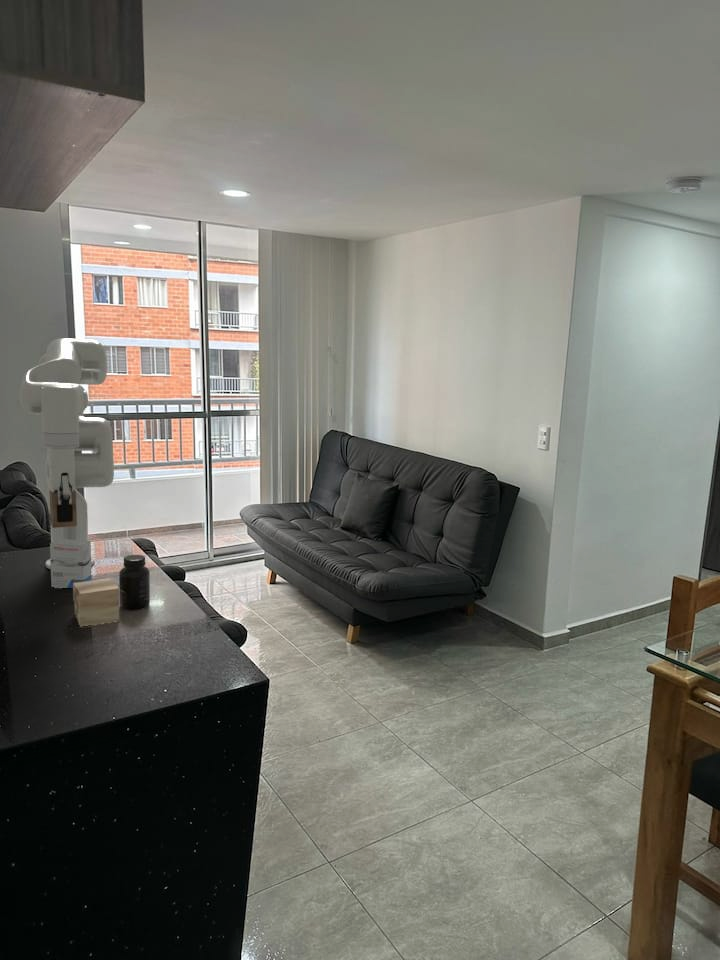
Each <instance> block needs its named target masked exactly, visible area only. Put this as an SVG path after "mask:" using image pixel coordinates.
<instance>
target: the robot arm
mask: <svg viewBox="0 0 720 960" xmlns="http://www.w3.org/2000/svg"><path fill="white" fill-rule="evenodd" d="M107 362H108V359H107V352H106V350H105V348H104V346H103V344H102V343H101V342H99V341H98V340H95V339H83V338H80V339H79V338H67V337H65V338H63V337H62V338H57V339H56V338H55V339H53V340H52V341H51V342H50V343H49V344H48V345H47V348H46V353H45V354H44V355H42V356H41V357H40V359H39V361H38V365H36V366H34V367H32V368H29V370H27V371H26V372H25V373H24V374H23V377H22V380H21V386H20V390H19V391H20V392H19V401H20V406H21V408H22V410H23V411H24V412H25V413H27V414H29V415H38V416H41V431H42V433H41V434H42V437H41V438H42V447H43V448H44V449H47V453H46V455H47V456H46V461H45V464H44V473H45V479H46V483H47V484H46V485H47V490H48V497H49V500H48V501H50V492H49V489H50V491H51V492H54V491H55V490H57V496H58V505H57V521H58V522H71V521H73V509H72V499H71V491H73V490H75V491H76V511H77V526H70V527H57V528H53V527H52V525H51V522H50V543H52V542H54V541H57V540H59V539H68V540H81V541H89V527H88V526H89V525H88V523H89V522H88V502H87V500H86V498H85V497H84V496H83V495H82V494H81V493H80V492H79V491H78V490H77V489H83V488H105V487H109V486H110V485H112V483H113V481H114V478H115V477H114V476H115V462H114V443H113V442H114V441H113V430H112V426H111V424H110V422H109V420H107V419H106V418H103V417H98V416H97V417H96V416H95V417H94V416H93V417H89V416H88V417H85V416H84V411H85V410H86V409H87V408H88V405H89V395H88V392H87V391H86V389H85V388H84V387H83V386H82V385H88V386H89V385H93V386H95V385H98V386H99V385H101V384H104V382H105V381H106V378H107V372H108V369H107V368H108V367H107V365H108V363H107ZM76 451H77V452H76ZM83 452H87V453H83ZM88 452H89V453H88ZM90 452H91V453H90ZM92 452H94V453H92ZM59 489H63V491H59ZM60 494H63V495H60ZM95 561H96V559H95V558H94V557H93V556H91V567H92V566H94V564H95V563H96V562H95ZM45 567H46V568H47V569H49V570H51V558H49V559H47V560H46V561H45Z"/></svg>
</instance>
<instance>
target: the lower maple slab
mask: <svg viewBox="0 0 720 960" xmlns="http://www.w3.org/2000/svg"><path fill="white" fill-rule="evenodd" d="M119 610H120V605H119V606H114V607H107V608H101V609H95V610H88V611H82V612H81V611H80V609H79V608H78V606H77V605H76V603H75V602H74V616H75V615H76V616H75V618H77V619H76V621H77V620H78V621H77V623H78V625H80V626H79V628H80V627H81V628H83V627H82V626H88V625H94V626H96V625H95V624H101V625H103V624H102V623H108V622H114V621H119V622H120V611H119ZM114 623H115V622H114ZM108 624H109V623H108ZM88 627H89V626H88Z"/></svg>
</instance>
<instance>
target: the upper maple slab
mask: <svg viewBox="0 0 720 960" xmlns="http://www.w3.org/2000/svg"><path fill="white" fill-rule="evenodd" d="M72 597H73V598H72V600H73V602H74V604H75V603H76V605H77V606H78V608H79V609H80V611H81V612H82V611H88V610H95V609H101V608H107V607H114V606H119V607H120V601H119V587H118V586H117V584H116V583H115V582H114V581H113V580H112V579H111V577H109V578H102V579H94V580H92V581H85V582H77V583H73V589H72Z"/></svg>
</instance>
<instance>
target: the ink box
mask: <svg viewBox="0 0 720 960" xmlns="http://www.w3.org/2000/svg"><path fill="white" fill-rule="evenodd" d="M91 543H92V542H91V541H90V540H88V541H81V540H68V539H59V540H57V541H54V542H52V543H51V542H50V543H49V550H50V551H49V554H50V558H49V559H51V569H50V582H51V585H50V586H51V587H50V588H52V587H54V588H53V589H62V588H73V583H77V582H85V581H92V566H91V557H92V545H91Z"/></svg>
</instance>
